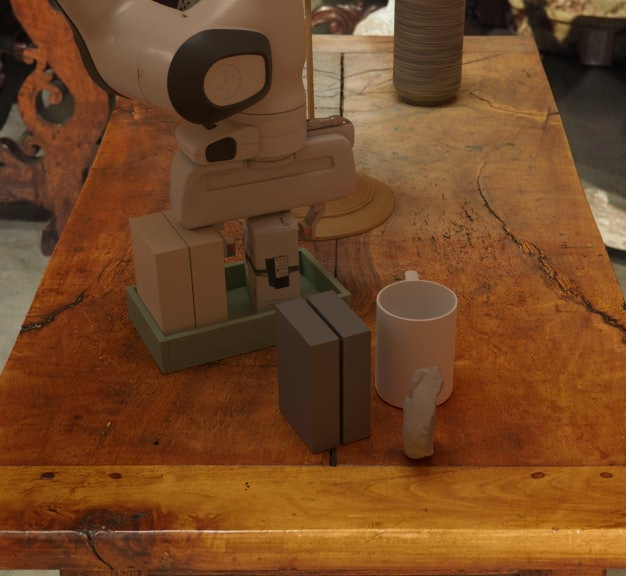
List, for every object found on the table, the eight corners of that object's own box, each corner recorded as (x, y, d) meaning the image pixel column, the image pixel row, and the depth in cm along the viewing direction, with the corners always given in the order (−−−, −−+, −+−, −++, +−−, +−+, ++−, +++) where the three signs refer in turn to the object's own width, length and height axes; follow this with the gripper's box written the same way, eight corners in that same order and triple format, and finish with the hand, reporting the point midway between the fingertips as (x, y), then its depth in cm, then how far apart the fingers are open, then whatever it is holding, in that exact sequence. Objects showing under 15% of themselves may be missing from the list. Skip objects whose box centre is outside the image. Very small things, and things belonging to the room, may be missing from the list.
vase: (409, 113, 177) (414, -28, 165) (381, 90, 186) (383, -45, 174) (472, 104, 181) (480, -34, 169) (441, 82, 190) (447, -50, 179)
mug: (457, 410, 106) (462, 319, 100) (377, 412, 105) (378, 321, 100) (444, 343, 116) (448, 258, 111) (371, 345, 116) (372, 259, 111)
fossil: (431, 482, 96) (436, 391, 91) (393, 475, 97) (396, 385, 92) (443, 443, 101) (448, 354, 96) (407, 437, 102) (410, 349, 97)
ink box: (244, 289, 124) (239, 196, 118) (286, 284, 125) (283, 191, 119) (257, 328, 116) (252, 231, 110) (302, 322, 118) (299, 225, 112)
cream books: (165, 356, 111) (154, 254, 105) (139, 315, 118) (128, 217, 112) (229, 339, 114) (223, 239, 108) (201, 301, 121) (193, 205, 115)
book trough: (163, 374, 110) (160, 342, 108) (128, 317, 120) (124, 286, 118) (351, 325, 119) (351, 294, 117) (304, 275, 129) (304, 246, 127)
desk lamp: (192, 246, 135) (165, -85, 115) (203, 171, 155) (182, -121, 135) (436, 240, 137) (451, -85, 117) (416, 167, 157) (426, -121, 137)
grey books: (312, 454, 99) (310, 346, 93) (278, 408, 106) (274, 304, 100) (370, 436, 102) (371, 329, 96) (333, 392, 108) (333, 289, 102)
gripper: (341, 102, 117) (340, 217, 124) (159, 131, 108) (169, 252, 115) (367, 121, 112) (365, 239, 119) (179, 153, 103) (188, 278, 110)
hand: (267, 246), depth 117 cm, fingers open, 8 cm apart
